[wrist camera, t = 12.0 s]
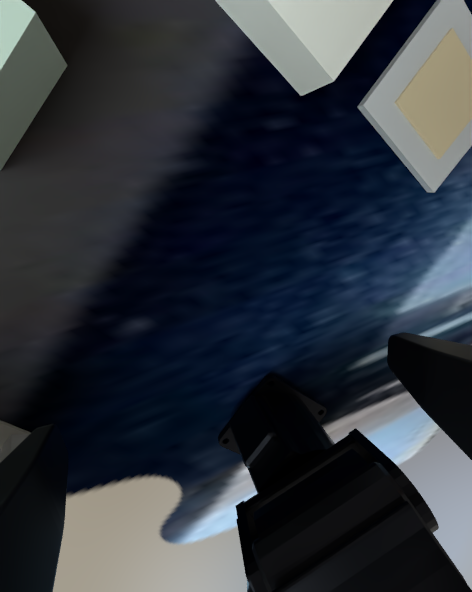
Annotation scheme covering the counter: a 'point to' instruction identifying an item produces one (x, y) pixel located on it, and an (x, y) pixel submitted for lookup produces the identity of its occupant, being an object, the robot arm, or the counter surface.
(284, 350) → the counter surface
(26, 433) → the skyscraper
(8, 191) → the counter surface
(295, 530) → the robot arm
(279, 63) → the cream block
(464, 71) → the tile
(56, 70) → the sage cube
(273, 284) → the counter surface
